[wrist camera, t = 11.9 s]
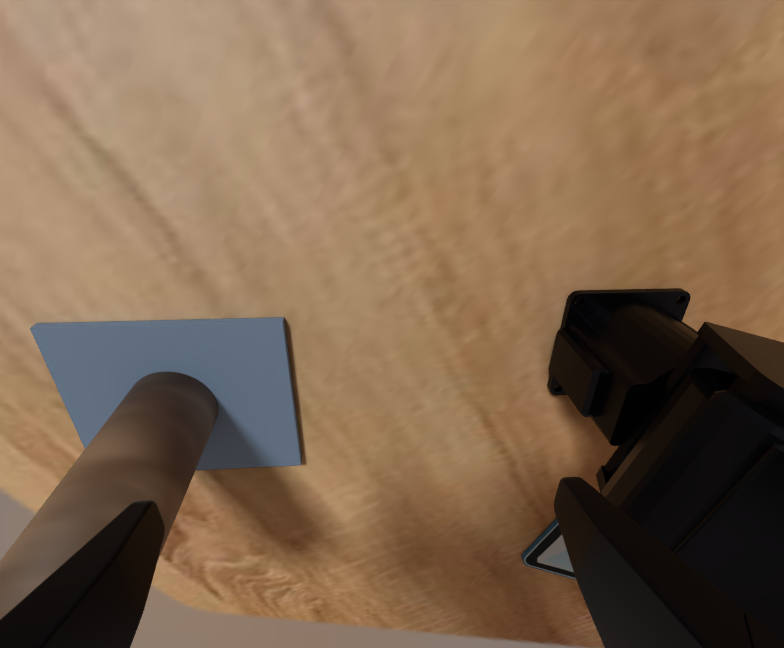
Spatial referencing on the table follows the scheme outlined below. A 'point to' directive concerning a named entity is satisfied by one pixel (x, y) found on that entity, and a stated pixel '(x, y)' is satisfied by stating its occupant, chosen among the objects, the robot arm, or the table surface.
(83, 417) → the placemat
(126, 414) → the pepper mill
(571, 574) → the smartphone
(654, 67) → the table surface
